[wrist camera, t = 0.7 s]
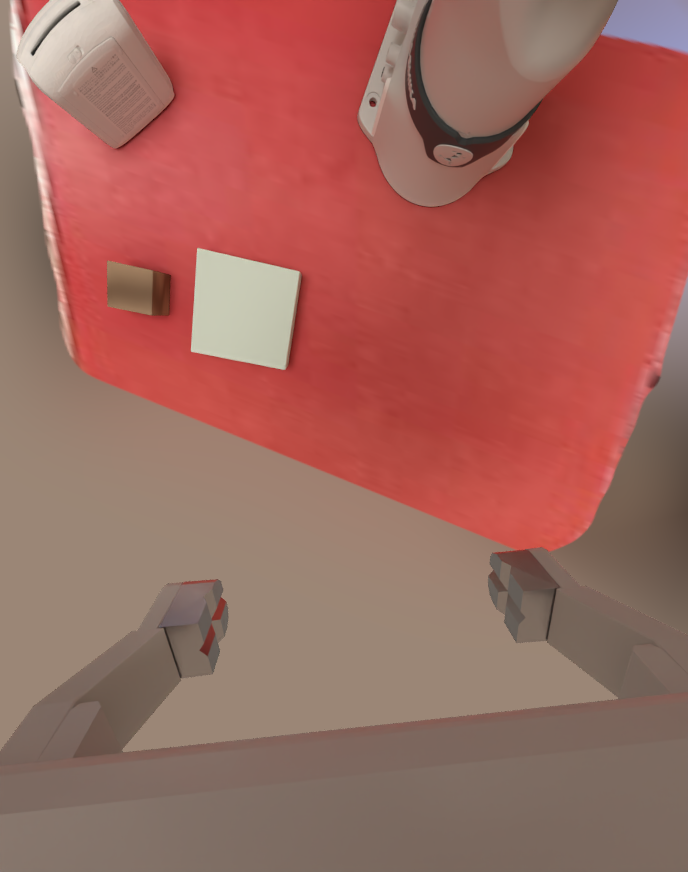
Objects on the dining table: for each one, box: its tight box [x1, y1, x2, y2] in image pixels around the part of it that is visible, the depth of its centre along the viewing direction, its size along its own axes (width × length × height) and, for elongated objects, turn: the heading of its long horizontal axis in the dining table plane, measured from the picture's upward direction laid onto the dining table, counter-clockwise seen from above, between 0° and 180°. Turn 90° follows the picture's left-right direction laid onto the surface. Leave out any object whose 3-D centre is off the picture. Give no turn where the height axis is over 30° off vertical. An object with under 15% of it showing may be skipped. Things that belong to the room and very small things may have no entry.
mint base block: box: [191, 248, 302, 370], centre depth 45 cm, size 12×12×4 cm
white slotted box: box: [16, 0, 174, 149], centre depth 33 cm, size 10×4×12 cm, turn 124°
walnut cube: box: [107, 261, 171, 315], centre depth 43 cm, size 5×5×5 cm
